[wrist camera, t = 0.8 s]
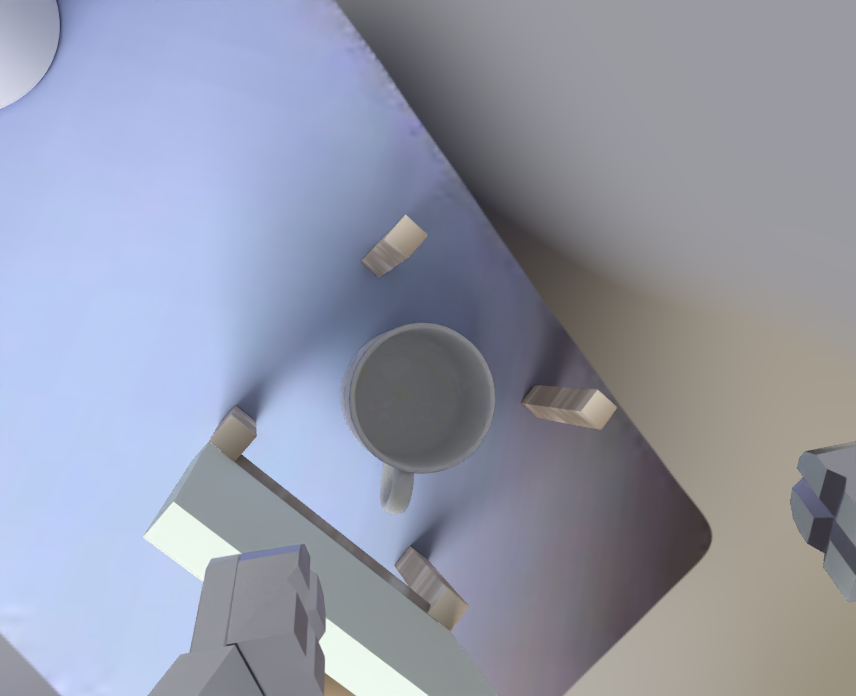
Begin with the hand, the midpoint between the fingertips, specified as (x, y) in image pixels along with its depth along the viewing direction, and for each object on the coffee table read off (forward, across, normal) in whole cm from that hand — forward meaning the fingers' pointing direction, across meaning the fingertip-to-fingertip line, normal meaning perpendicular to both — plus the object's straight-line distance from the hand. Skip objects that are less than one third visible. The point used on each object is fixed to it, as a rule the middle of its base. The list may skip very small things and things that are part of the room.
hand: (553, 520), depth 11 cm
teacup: (+36, +5, +28) cm, 46 cm away
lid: (+14, +7, +20) cm, 26 cm away
